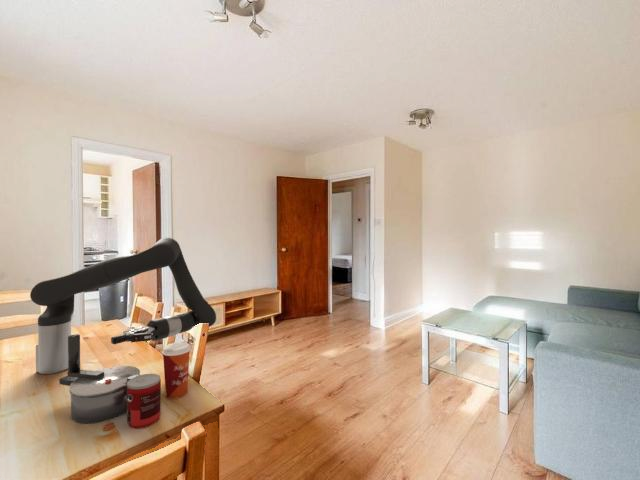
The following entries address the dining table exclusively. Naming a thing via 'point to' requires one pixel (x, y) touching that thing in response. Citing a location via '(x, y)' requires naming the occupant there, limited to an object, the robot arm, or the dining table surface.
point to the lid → (95, 374)
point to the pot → (96, 405)
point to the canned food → (143, 400)
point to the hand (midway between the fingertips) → (112, 340)
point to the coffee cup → (176, 369)
